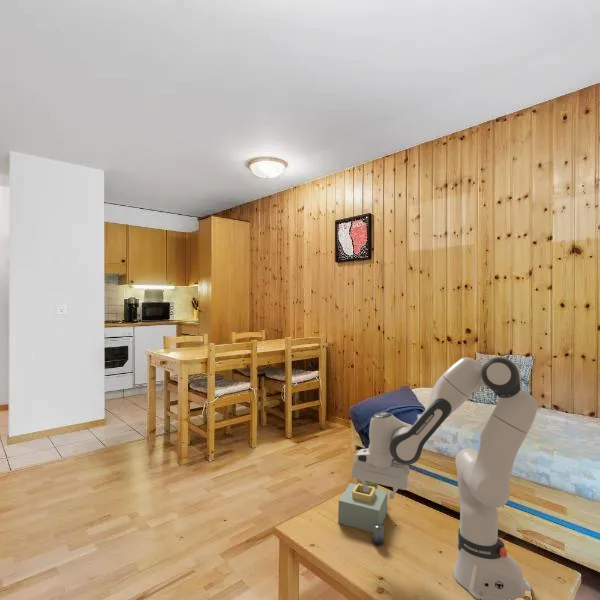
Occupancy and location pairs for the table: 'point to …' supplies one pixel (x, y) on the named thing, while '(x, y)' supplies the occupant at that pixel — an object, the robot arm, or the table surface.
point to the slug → (378, 534)
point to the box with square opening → (362, 507)
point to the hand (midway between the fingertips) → (378, 494)
